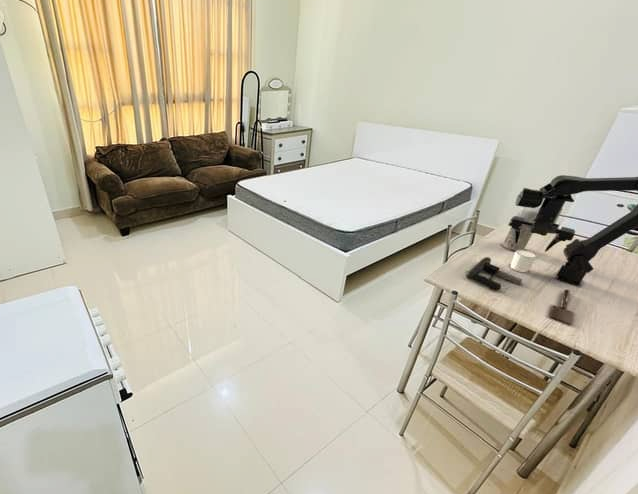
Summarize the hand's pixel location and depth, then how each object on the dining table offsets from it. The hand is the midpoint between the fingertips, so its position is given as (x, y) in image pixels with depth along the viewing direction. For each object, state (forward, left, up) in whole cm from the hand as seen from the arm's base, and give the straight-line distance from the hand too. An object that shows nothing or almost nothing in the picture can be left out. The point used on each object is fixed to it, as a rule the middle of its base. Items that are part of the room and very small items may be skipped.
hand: (530, 247), depth 126 cm
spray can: (+5, -20, -10) cm, 23 cm away
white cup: (0, 0, -10) cm, 10 cm away
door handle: (+6, +16, -10) cm, 20 cm away
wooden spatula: (-15, +19, -10) cm, 26 cm away
